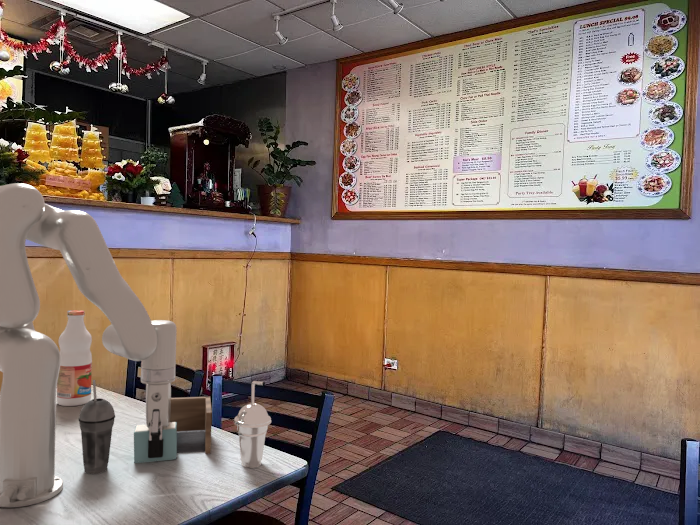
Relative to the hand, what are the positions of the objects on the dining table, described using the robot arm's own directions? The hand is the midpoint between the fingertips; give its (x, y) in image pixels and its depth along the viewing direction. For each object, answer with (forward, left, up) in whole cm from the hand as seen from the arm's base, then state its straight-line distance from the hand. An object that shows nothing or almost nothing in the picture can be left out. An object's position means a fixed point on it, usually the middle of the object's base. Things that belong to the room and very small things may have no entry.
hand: (156, 451), depth 126 cm
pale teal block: (0, 0, -1) cm, 1 cm away
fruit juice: (+50, +27, -2) cm, 57 cm away
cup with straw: (-8, -21, -2) cm, 23 cm away
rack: (+7, -7, -1) cm, 10 cm away
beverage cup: (-5, +12, -2) cm, 13 cm away
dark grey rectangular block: (+4, -7, -1) cm, 8 cm away
